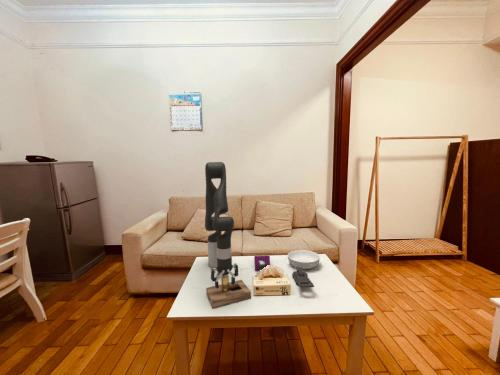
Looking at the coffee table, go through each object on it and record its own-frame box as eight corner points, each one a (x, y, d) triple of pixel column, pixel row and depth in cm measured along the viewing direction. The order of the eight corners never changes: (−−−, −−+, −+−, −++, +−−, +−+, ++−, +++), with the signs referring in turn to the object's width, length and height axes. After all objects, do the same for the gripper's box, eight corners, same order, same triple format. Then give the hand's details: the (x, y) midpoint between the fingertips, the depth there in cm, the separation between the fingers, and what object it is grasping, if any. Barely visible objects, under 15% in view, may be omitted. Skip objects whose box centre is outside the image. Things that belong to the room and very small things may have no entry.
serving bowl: (306, 256, 171) (306, 247, 170) (326, 268, 152) (326, 258, 151) (281, 262, 162) (281, 252, 161) (300, 275, 143) (300, 264, 142)
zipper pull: (297, 285, 120) (291, 263, 144) (297, 297, 120) (291, 274, 145) (315, 285, 119) (306, 264, 144) (315, 298, 120) (306, 274, 145)
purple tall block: (254, 269, 164) (255, 269, 147) (254, 257, 167) (254, 255, 150) (267, 269, 164) (270, 269, 147) (267, 256, 167) (269, 255, 150)
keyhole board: (206, 294, 124) (206, 287, 124) (241, 286, 132) (241, 279, 132) (212, 308, 112) (212, 301, 112) (251, 298, 120) (250, 291, 120)
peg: (220, 294, 123) (219, 275, 121) (228, 292, 124) (227, 273, 123) (222, 299, 119) (222, 279, 117) (230, 297, 120) (230, 277, 119)
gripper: (234, 250, 125) (235, 279, 127) (208, 255, 119) (209, 285, 121) (240, 255, 118) (240, 286, 120) (212, 261, 113) (213, 293, 115)
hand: (225, 285), depth 121 cm, fingers open, 8 cm apart
